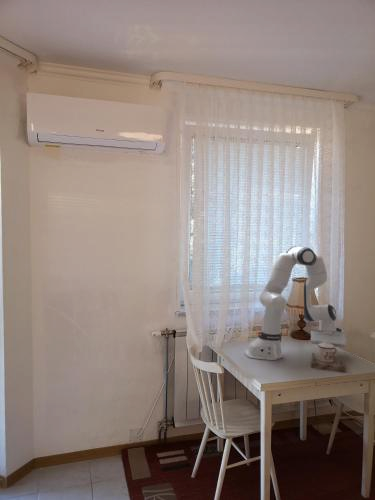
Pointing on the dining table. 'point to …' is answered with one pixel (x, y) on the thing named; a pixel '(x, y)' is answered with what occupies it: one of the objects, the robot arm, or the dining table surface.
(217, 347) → the dining table surface
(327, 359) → the teacup with lid
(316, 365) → the walnut tea frame
